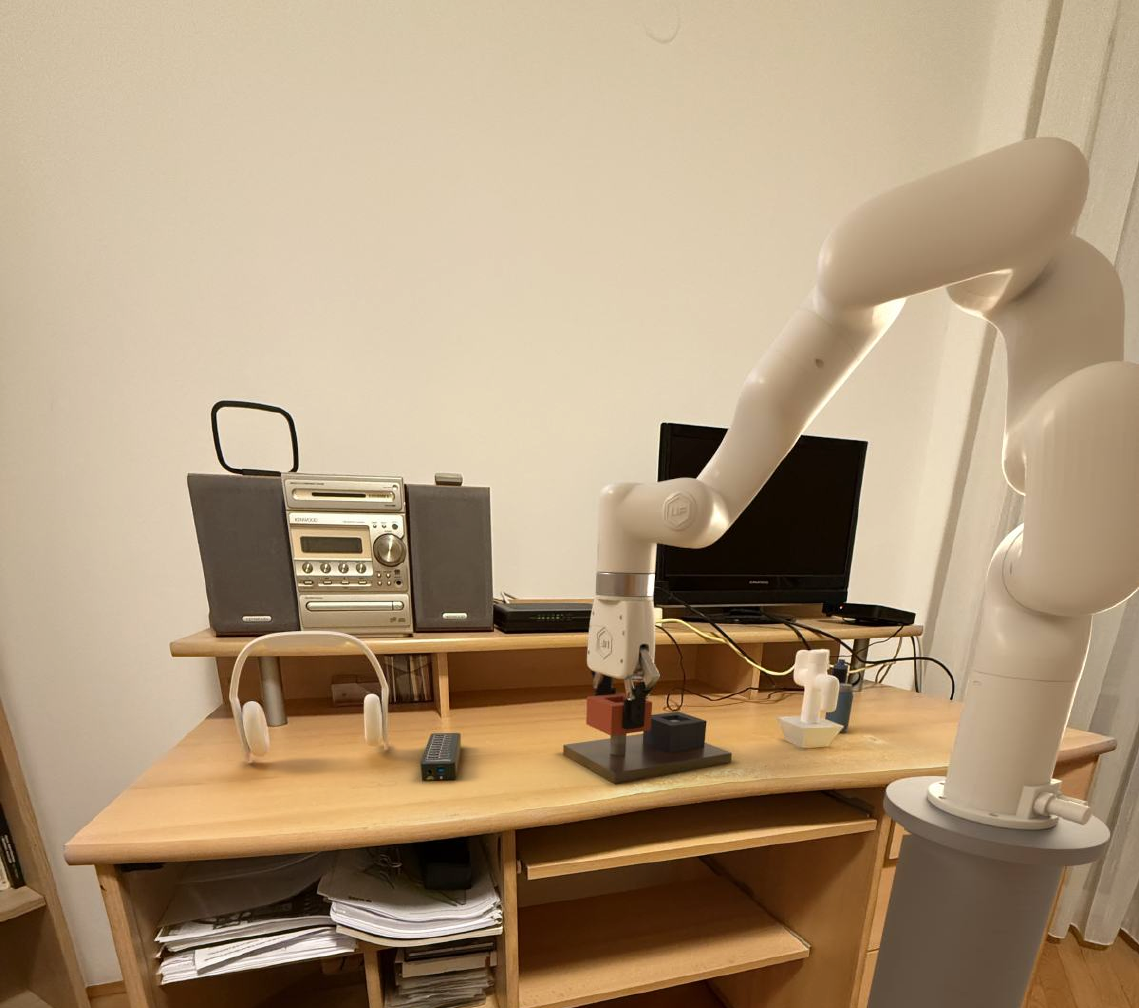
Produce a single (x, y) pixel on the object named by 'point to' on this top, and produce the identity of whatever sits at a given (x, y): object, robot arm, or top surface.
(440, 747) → the multiport hub
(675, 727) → the dark grey hollow block
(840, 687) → the vaping device
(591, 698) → the red square holed block
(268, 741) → the headset
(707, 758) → the pegboard
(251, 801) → the top surface
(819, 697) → the figurine
